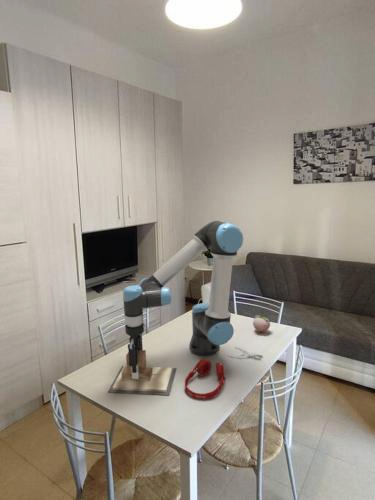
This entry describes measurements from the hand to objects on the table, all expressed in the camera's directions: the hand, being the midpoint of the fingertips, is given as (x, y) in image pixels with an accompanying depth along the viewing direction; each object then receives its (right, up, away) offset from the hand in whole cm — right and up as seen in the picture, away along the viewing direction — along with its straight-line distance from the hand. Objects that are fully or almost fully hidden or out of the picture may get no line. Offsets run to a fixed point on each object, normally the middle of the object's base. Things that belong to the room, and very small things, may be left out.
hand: (137, 374), depth 140 cm
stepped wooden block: (0, -1, 0) cm, 1 cm away
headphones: (+29, -3, -4) cm, 29 cm away
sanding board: (+3, -2, 0) cm, 4 cm away
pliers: (+50, +2, +18) cm, 53 cm away
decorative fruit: (+62, +7, +42) cm, 75 cm away
